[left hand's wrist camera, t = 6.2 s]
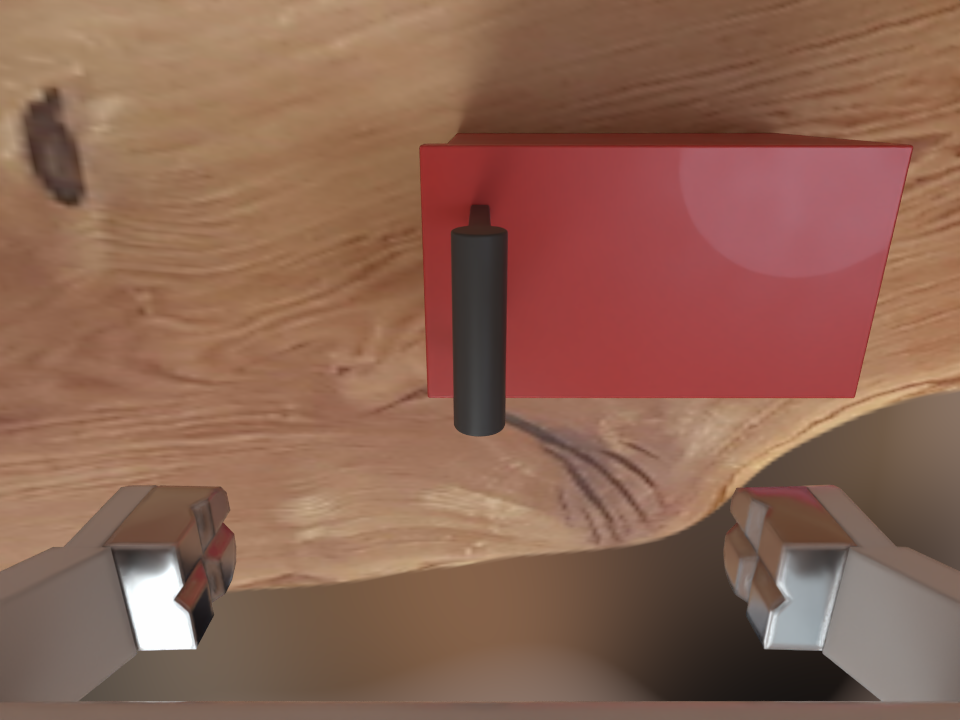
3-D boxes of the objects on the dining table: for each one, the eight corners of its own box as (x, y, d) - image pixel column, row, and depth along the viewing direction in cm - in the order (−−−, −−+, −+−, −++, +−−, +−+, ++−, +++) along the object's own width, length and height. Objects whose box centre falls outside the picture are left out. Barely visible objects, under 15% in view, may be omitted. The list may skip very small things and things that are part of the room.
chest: (458, 314, 37) (450, 386, 28) (456, 133, 34) (446, 143, 24) (747, 314, 37) (839, 386, 28) (776, 133, 34) (894, 143, 24)
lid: (429, 386, 28) (410, 491, 20) (421, 143, 24) (394, 159, 16) (840, 387, 28) (975, 492, 20) (894, 143, 24) (1085, 159, 16)
